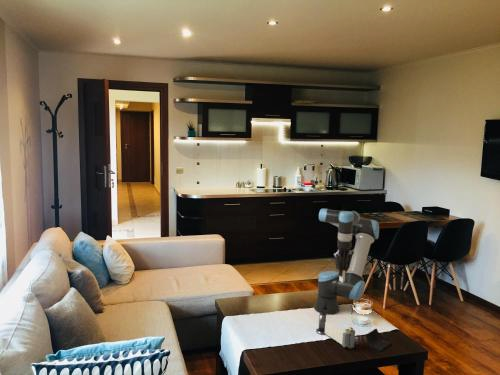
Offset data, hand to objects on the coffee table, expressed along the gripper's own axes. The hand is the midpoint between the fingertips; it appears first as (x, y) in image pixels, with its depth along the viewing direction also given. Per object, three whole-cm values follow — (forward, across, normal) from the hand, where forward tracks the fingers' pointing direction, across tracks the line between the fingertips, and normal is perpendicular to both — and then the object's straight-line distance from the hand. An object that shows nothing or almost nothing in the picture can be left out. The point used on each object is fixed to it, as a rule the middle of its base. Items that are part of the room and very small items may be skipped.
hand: (341, 281), depth 228 cm
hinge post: (+26, -13, -1) cm, 29 cm away
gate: (+25, -13, -12) cm, 31 cm away
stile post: (+26, -10, -19) cm, 34 cm away
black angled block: (+27, +5, -24) cm, 36 cm away
